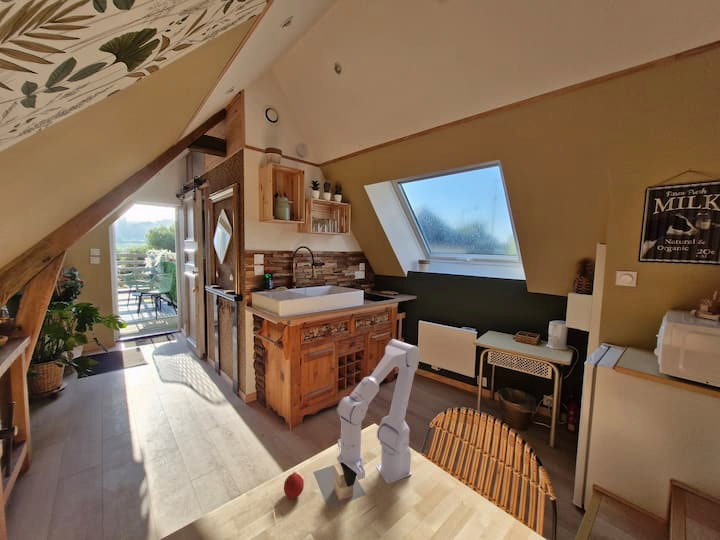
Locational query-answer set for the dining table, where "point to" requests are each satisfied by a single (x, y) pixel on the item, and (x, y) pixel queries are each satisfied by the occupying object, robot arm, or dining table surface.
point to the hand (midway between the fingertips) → (350, 484)
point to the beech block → (341, 484)
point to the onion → (293, 485)
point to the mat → (327, 487)
